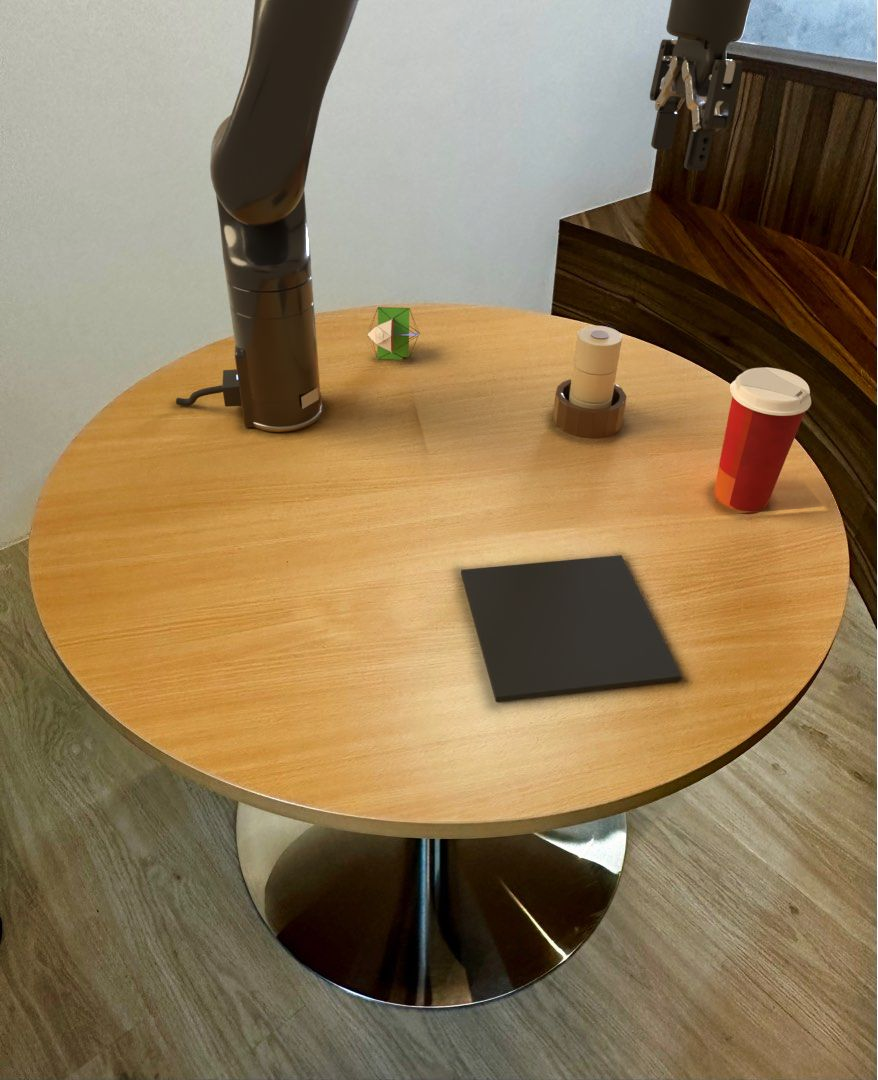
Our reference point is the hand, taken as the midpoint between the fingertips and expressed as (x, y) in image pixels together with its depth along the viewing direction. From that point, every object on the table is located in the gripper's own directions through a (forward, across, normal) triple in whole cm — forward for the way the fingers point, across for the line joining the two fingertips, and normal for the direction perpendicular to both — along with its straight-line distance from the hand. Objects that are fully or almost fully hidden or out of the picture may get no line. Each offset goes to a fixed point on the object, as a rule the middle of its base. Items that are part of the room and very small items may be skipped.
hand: (676, 158), depth 95 cm
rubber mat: (+31, +38, -21) cm, 53 cm away
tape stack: (+28, +5, -7) cm, 30 cm away
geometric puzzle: (+30, -16, -27) cm, 43 cm away
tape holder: (+29, +5, -7) cm, 30 cm away
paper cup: (+29, +23, +4) cm, 37 cm away
